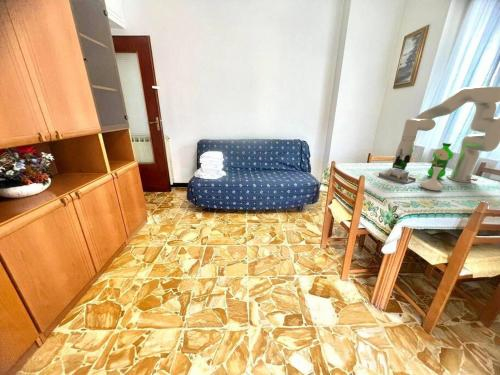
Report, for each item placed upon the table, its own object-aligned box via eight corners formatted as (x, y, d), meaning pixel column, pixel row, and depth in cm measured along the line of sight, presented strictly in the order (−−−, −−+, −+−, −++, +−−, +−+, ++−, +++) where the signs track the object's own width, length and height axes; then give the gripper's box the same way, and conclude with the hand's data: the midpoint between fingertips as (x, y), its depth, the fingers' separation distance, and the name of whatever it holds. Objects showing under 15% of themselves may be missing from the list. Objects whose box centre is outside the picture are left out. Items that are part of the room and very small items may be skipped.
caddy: (415, 181, 142) (417, 175, 141) (404, 184, 137) (405, 178, 136) (389, 173, 157) (390, 168, 156) (378, 176, 152) (379, 171, 151)
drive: (406, 179, 144) (409, 171, 142) (401, 180, 141) (404, 172, 139) (392, 174, 152) (394, 167, 150) (387, 175, 150) (389, 168, 148)
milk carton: (405, 171, 165) (413, 146, 157) (402, 173, 159) (410, 147, 152) (393, 168, 171) (400, 144, 163) (389, 170, 165) (396, 145, 158)
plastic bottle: (444, 180, 145) (458, 145, 135) (425, 177, 151) (437, 143, 141) (443, 176, 152) (456, 143, 143) (425, 174, 158) (436, 141, 148)
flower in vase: (446, 193, 124) (463, 152, 115) (425, 191, 126) (439, 151, 117) (433, 185, 136) (447, 147, 127) (413, 183, 138) (426, 146, 129)
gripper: (409, 136, 143) (403, 160, 150) (394, 138, 136) (388, 163, 143) (422, 138, 137) (414, 162, 143) (406, 140, 130) (400, 166, 136)
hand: (401, 163), depth 143 cm, fingers open, 9 cm apart
